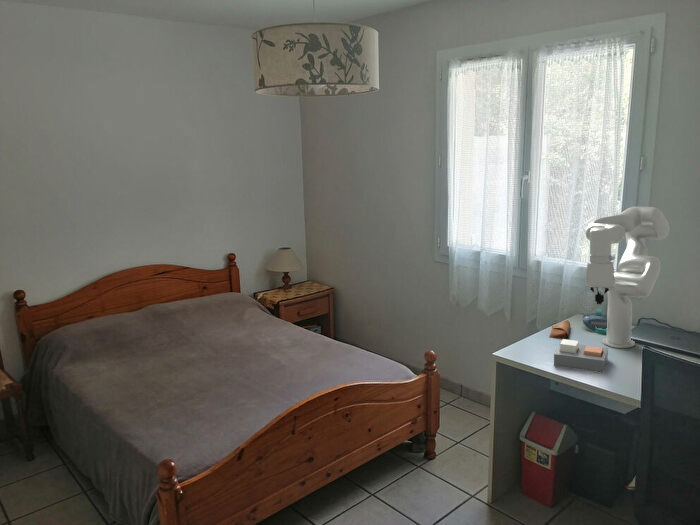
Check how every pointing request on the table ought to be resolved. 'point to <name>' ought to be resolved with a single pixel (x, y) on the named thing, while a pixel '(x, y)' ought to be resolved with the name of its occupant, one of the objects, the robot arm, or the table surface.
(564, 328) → the sunglasses case
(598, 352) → the orange square block
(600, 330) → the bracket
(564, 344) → the offwhite key
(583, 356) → the key console
